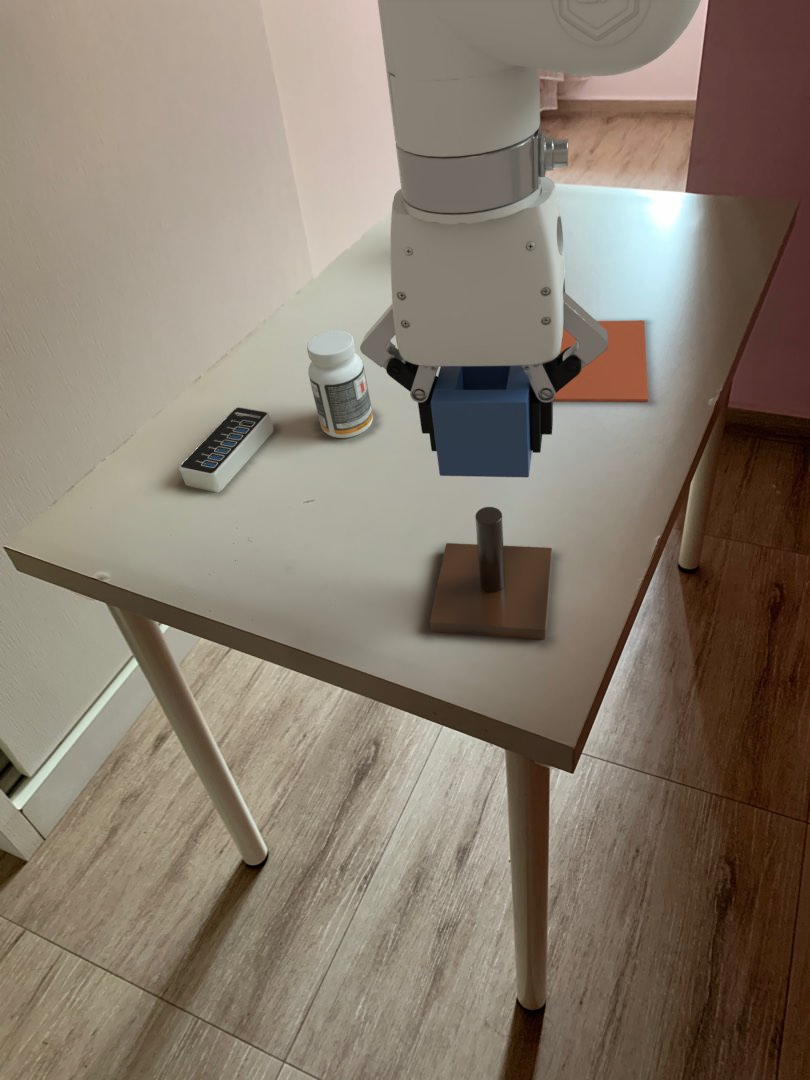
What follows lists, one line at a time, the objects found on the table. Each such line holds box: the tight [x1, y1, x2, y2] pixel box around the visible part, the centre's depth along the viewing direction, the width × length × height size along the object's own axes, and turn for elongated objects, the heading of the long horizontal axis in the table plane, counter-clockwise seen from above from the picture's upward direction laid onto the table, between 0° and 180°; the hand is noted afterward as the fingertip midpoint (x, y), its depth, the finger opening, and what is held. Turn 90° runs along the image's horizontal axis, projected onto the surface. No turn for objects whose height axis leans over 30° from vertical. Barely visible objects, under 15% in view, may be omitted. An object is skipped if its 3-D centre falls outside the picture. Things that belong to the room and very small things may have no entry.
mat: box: [553, 320, 649, 403], centre depth 90 cm, size 16×16×1 cm
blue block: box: [431, 366, 533, 478], centre depth 54 cm, size 6×6×6 cm
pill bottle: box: [306, 330, 374, 439], centre depth 83 cm, size 6×6×10 cm
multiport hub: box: [178, 406, 275, 493], centre depth 84 cm, size 4×11×2 cm, turn 156°
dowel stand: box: [429, 506, 553, 640], centre depth 63 cm, size 9×9×9 cm
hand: (487, 437), depth 55 cm, fingers closed on blue block, 6 cm apart
